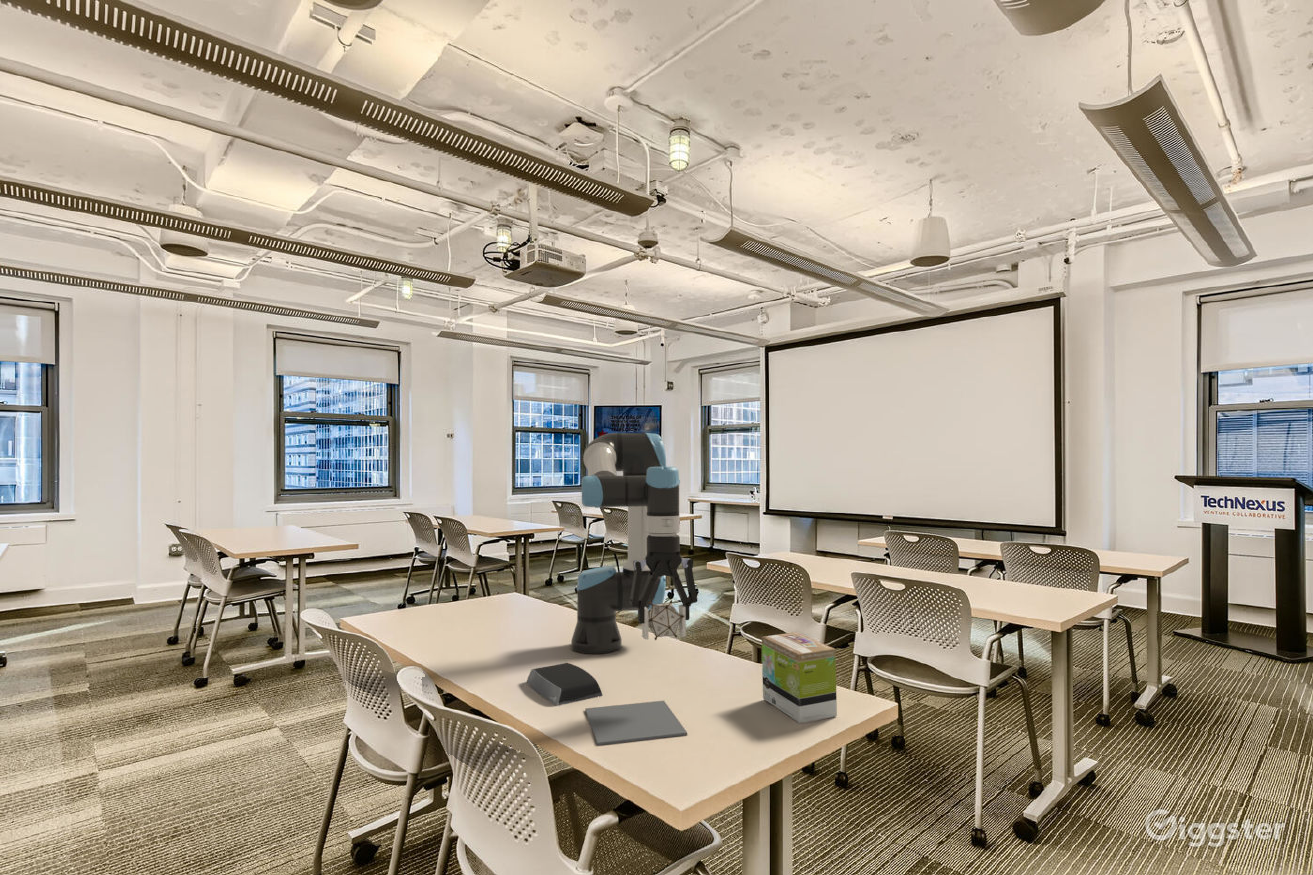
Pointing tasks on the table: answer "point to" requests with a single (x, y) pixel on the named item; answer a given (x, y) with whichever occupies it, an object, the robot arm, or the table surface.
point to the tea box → (799, 676)
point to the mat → (633, 722)
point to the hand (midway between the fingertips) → (664, 636)
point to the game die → (663, 620)
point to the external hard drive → (563, 683)
